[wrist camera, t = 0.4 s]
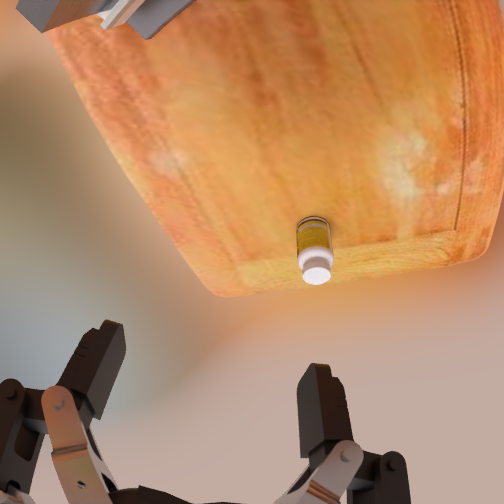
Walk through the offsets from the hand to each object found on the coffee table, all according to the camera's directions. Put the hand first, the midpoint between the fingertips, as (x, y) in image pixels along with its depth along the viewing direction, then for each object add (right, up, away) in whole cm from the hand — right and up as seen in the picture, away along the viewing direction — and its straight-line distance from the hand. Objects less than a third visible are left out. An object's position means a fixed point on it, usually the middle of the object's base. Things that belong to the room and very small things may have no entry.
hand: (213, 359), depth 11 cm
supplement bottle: (+11, +8, +34) cm, 37 cm away
